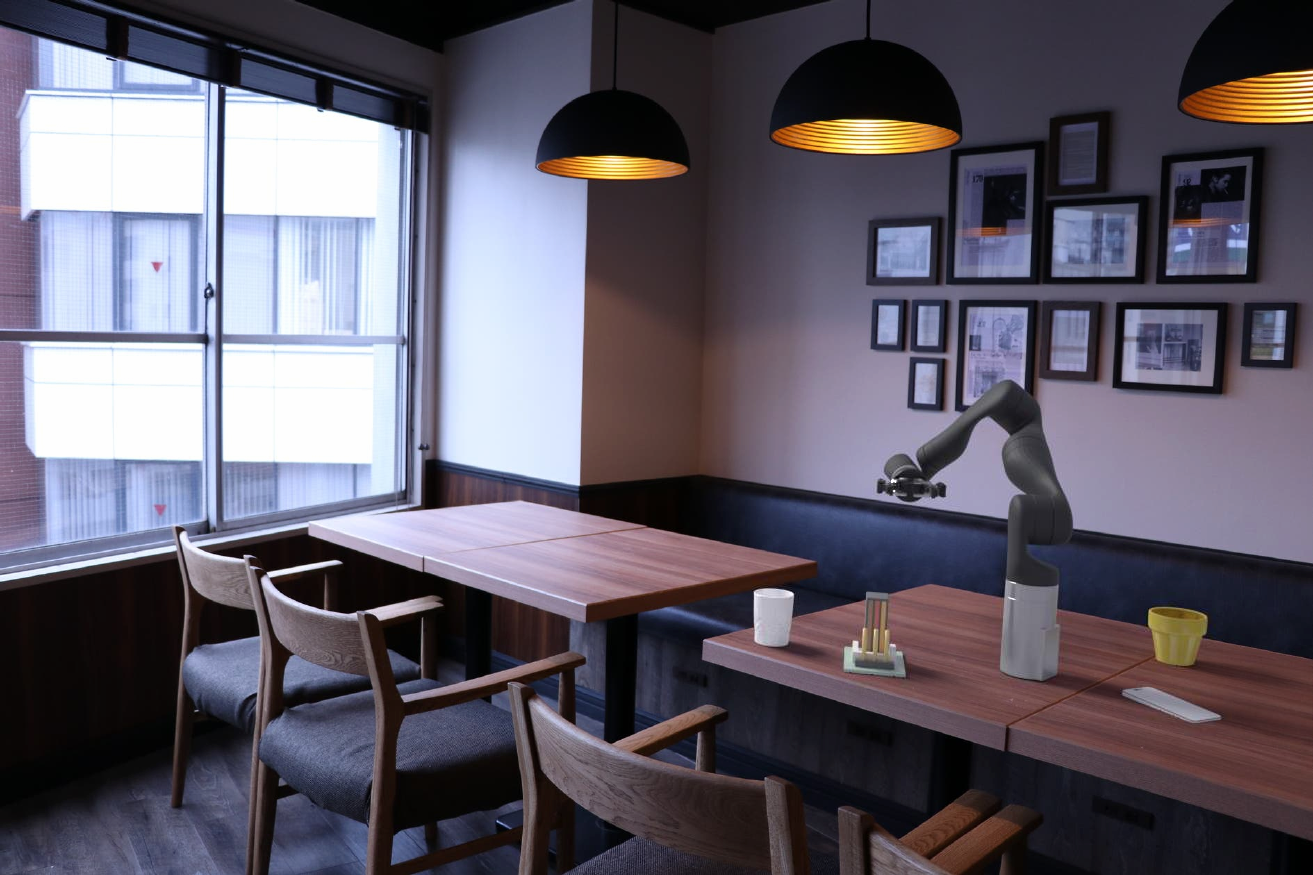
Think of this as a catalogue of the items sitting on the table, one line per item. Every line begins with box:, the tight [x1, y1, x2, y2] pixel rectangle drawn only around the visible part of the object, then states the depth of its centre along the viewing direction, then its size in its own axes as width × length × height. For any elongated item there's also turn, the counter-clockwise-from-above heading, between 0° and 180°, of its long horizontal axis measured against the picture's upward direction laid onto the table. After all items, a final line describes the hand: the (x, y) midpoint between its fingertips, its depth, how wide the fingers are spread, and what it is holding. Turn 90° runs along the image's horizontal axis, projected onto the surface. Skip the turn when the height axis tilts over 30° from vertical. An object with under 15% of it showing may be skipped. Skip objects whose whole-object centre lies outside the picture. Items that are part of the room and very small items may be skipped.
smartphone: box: [1121, 686, 1222, 724], centre depth 177 cm, size 7×1×15 cm
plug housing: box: [863, 591, 890, 653], centre depth 196 cm, size 5×4×12 cm
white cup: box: [753, 588, 795, 648], centre depth 206 cm, size 8×8×10 cm
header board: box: [843, 627, 907, 679], centre depth 195 cm, size 15×11×8 cm
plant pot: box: [1147, 606, 1209, 667], centre depth 204 cm, size 10×10×10 cm
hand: (912, 492), depth 214 cm, fingers open, 8 cm apart
